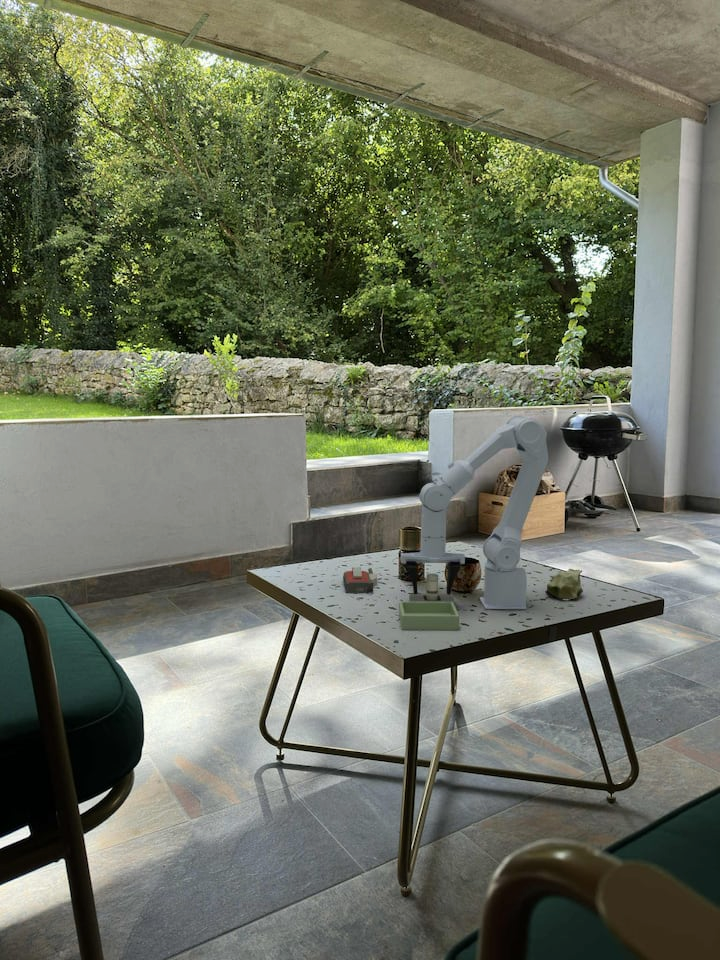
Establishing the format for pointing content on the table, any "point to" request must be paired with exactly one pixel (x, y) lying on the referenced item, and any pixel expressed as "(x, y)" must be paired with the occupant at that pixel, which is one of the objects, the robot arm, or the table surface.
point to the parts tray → (428, 616)
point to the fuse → (432, 587)
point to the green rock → (565, 585)
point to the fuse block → (423, 599)
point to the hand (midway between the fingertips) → (431, 593)
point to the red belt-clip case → (359, 581)
